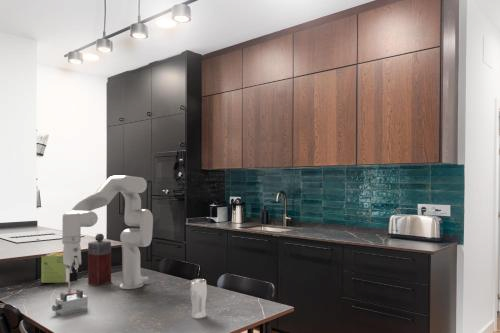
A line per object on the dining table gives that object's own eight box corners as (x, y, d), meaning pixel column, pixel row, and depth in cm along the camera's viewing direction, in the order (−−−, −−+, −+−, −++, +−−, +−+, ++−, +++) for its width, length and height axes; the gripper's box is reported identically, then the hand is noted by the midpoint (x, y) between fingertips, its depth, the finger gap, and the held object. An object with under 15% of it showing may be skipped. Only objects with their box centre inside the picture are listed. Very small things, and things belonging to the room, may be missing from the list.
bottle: (74, 279, 177) (74, 263, 178) (77, 281, 174) (78, 265, 175) (64, 281, 174) (64, 265, 175) (67, 282, 171) (67, 266, 171)
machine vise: (80, 305, 181) (80, 287, 181) (87, 309, 175) (87, 290, 175) (49, 313, 171) (49, 293, 172) (56, 317, 166) (56, 297, 166)
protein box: (67, 282, 223) (67, 255, 224) (40, 282, 224) (40, 255, 224) (75, 277, 234) (75, 252, 234) (50, 278, 234) (50, 252, 234)
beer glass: (191, 313, 168) (190, 278, 168) (207, 313, 168) (206, 278, 169) (190, 319, 161) (189, 283, 161) (206, 318, 161) (206, 282, 162)
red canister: (98, 279, 229) (98, 232, 230) (111, 281, 223) (111, 233, 224) (85, 283, 221) (85, 234, 222) (98, 285, 215) (97, 235, 216)
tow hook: (71, 294, 201) (60, 299, 192) (72, 269, 202) (61, 272, 193) (86, 295, 200) (75, 299, 191) (87, 269, 201) (76, 273, 192)
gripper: (87, 240, 172) (87, 282, 171) (73, 237, 184) (72, 276, 183) (69, 242, 166) (69, 285, 166) (56, 238, 178) (55, 278, 178)
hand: (71, 280), depth 174 cm, fingers closed on bottle, 4 cm apart
